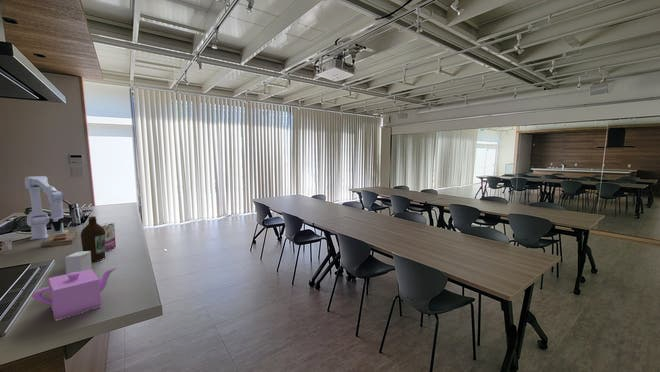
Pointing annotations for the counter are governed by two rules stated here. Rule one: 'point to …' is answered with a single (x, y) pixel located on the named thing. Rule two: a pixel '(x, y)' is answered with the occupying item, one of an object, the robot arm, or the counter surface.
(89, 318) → the counter surface
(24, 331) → the counter surface
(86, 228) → the olive oil
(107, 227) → the candy bar box
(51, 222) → the robot arm
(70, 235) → the puzzle board
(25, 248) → the counter surface
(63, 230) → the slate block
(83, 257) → the skincare box
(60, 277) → the teapot
